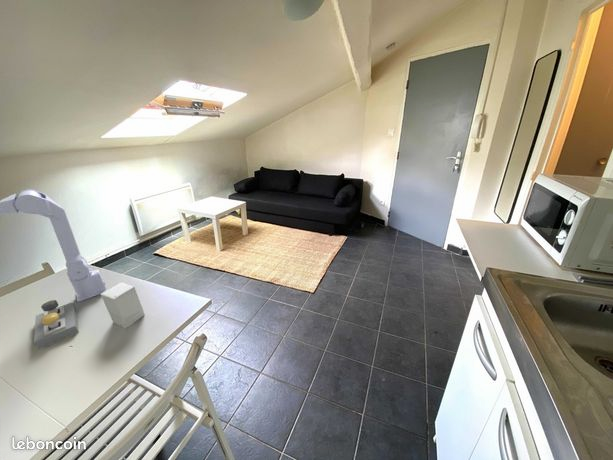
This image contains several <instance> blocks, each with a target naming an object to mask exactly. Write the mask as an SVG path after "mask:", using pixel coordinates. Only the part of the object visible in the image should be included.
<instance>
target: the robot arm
mask: <svg viewBox="0 0 613 460" xmlns="http://www.w3.org/2000/svg"><path fill="white" fill-rule="evenodd" d="M19 212H21V213H23V214H30V215H39V216H43V217H44V218H45V217H46V218H48V219H49V220H50V222H51V225H52V228H53V231H54V233H55V235H56V238H57V241H58V243H59V245H60V248H61V250H62V254H63V256H64V258H65V267H66V270H67V272H66V275H67V277H68V279H69V281H70V284H71V286H72V288H73V289H74V292H75V296H76V302H77V303H80V302H83V301H85V300H88V299H91V298H93V297H97V296H99V295H101V293H103V292H105V291H107V290H108V289H107V288H106V283H105V280H103V278H102V276H101V273H100V270H99V269H95V270H92V269H90V268H89V267H88V261H87V260H86V258H85V257H83V256H82V253H81V251H80V249H79V246H78V244H77V241H76V238H75V235H74V233H73V230H72V228H71V227H72V226H71V224H70V222H69V219H68V216H67V213H66V211H65V209H64V207H63V206H62V205H60V204H58V203H57V202H56V201H55V200H53V199H52V198H50V197H49V196H48V195H46V193H44V192H40V191H37V190H34V189H23V190H21V191H19V192H18V193H14V194H11V195H9V196H7V197H5V198H2V199H1V200H0V217H1V216H3V215H5V214H19Z"/></svg>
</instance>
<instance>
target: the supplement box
mask: <svg viewBox="0 0 613 460" xmlns="http://www.w3.org/2000/svg"><path fill="white" fill-rule="evenodd" d="M106 290H107V291H105V292H103V293H101V294H100V296H101V298H102V300H103V301H102V302H103V303H104V306H105V307H106V310H107V311H108V313H109V316H110V318H111V320H112V323H114V324H116V325H119V326H120V327H122V328H125V329H126V328H128V327H130V326H131V325H132V324H134V323H135V322H136V321H138V320H139V319H141V318H142V317H144V316H145V315H146V314H145V311H144V308H143V306H142V304H141V301H140V298H139V296H138V293H137V289H136V288H135V286H134V285H130V284H127V283H125V282H123V281H122V282H118V283H117V284H115V285H114V286H112V287H110V288H108V289H106Z"/></svg>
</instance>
